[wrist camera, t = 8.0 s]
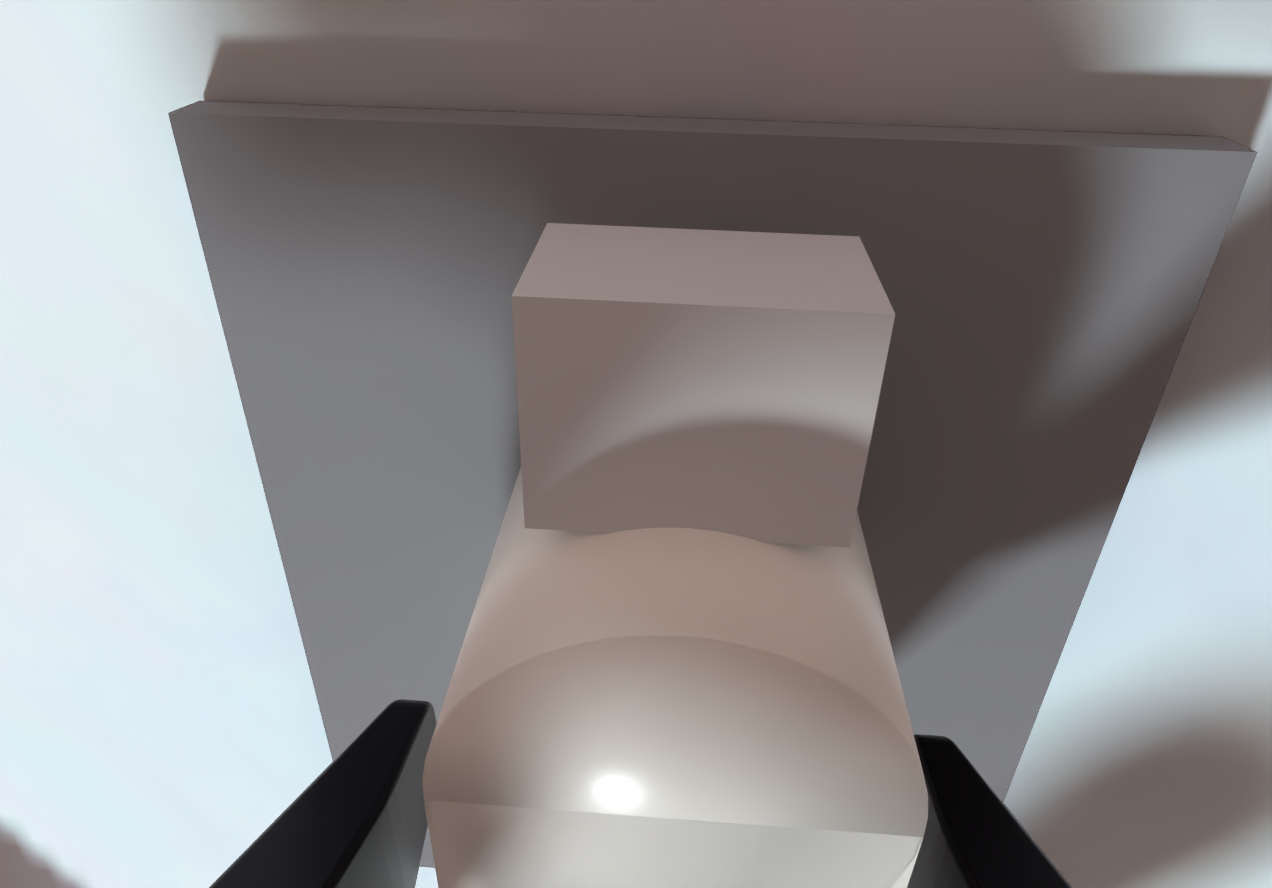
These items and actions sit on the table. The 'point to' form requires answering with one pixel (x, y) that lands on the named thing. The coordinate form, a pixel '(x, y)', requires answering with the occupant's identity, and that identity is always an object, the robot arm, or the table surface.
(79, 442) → the table surface
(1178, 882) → the table surface
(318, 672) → the coaster
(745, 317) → the plug
